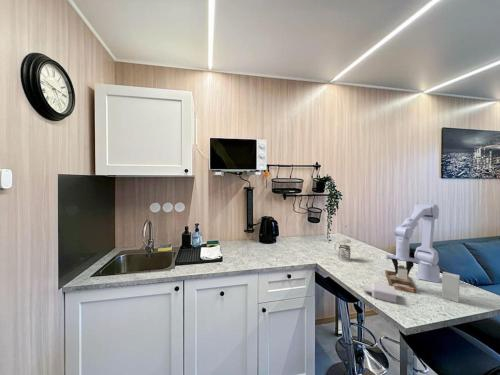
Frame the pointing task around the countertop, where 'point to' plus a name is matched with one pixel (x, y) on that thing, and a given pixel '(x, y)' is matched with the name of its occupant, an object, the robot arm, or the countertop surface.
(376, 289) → the charger
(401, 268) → the plug
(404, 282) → the socket holder
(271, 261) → the countertop surface
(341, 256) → the french press
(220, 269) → the countertop surface
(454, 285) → the skincare box
